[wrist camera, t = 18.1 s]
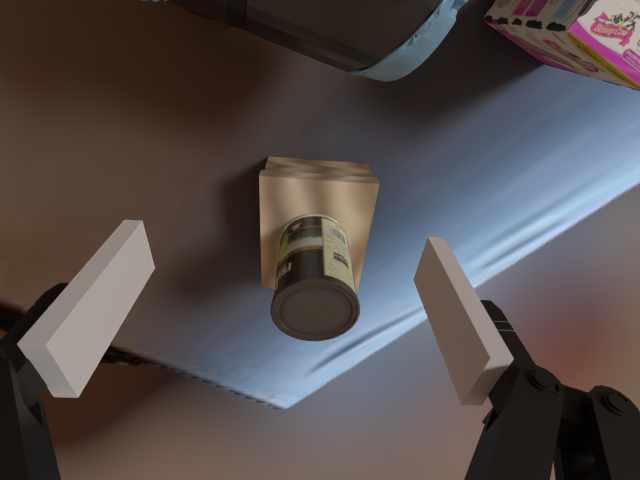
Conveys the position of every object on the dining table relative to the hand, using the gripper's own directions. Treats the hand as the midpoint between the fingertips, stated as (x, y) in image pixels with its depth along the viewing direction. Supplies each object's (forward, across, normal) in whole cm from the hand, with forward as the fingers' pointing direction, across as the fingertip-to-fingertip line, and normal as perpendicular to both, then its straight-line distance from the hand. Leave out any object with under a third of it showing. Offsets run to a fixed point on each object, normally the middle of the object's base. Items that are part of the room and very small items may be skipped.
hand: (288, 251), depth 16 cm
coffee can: (+28, +3, -19) cm, 34 cm away
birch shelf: (+35, +3, -19) cm, 40 cm away
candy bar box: (+35, +27, +10) cm, 45 cm away
